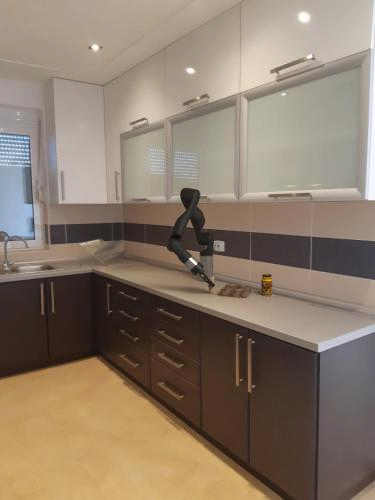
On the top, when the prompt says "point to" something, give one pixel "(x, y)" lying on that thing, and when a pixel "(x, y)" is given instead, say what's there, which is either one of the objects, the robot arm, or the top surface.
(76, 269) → the top surface
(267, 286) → the condiment
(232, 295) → the clear brown food package
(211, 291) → the peg
